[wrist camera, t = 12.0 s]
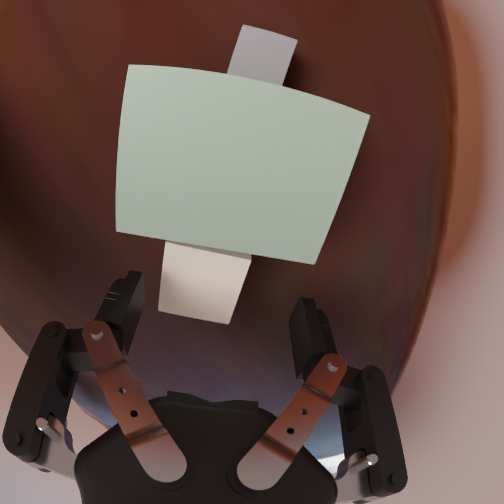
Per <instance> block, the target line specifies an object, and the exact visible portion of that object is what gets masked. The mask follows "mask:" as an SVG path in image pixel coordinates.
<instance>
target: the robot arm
mask: <svg viewBox="0 0 504 504" xmlns="http://www.w3.org/2000/svg"><path fill="white" fill-rule="evenodd" d="M144 304H145V274H144V273H143V272H137V271H132V270H130V271H129V273H128V275H127V277H126V279H121V278H119V279H118V280H116V281H115V282H114V283H113V284H112V285H111V287H110V289H109V291H108V293H107V295H106V298H105V299H104V301H103V303H102V305H101V307H100V309H99V311H98V313H97V316H96V318H95V320H94V321H91V322H89V323H88V324H86V325H85V326H84V328H82V329H66V328H65V326H64V325H63V324H62V323H61V322H58V321H52V322H49V323H47V324H45V325H44V326H43V327H42V329H41V331H40V333H39V335H38V338H37V340H36V342H35V344H34V346H33V349H32V351H31V353H30V356H29V358H28V360H27V363H26V365H25V368H24V370H23V373H22V375H21V378H20V381H19V383H18V386H17V389H16V392H15V395H14V397H13V400H12V403H11V406H10V410H9V413H8V416H7V420H6V424H5V427H4V431H3V436H2V438H3V443H4V445H5V447H6V449H7V450H8V451H9V452H10V453H12V454H13V455H15V456H16V457H18V458H19V459H20V460H21V461H23V462H25V463H26V464H28V465H30V466H32V467H34V468H37V469H39V470H40V471H43V472H51V471H52V472H54V473H57V474H60V475H62V476H65V477H68V478H71V479H74V480H76V482H77V484H78V487H79V490H80V494H81V499H82V504H340V503H347V502H353V503H356V504H364V503H367V502H371V501H374V500H377V499H380V498H383V497H386V496H389V495H392V494H395V493H397V492H400V491H401V490H402V489H404V487H405V486H406V484H407V480H408V476H407V470H406V465H405V459H404V454H403V449H402V444H401V439H400V435H399V430H398V426H397V421H396V417H395V413H394V409H393V405H392V401H391V397H390V393H389V389H388V386H387V382H386V378H385V375H384V373H383V372H382V371H381V370H380V369H379V368H378V367H375V366H366V367H365V368H364V369H363V370H359V369H356V368H353V367H350V366H347V364H346V362H345V360H344V359H343V358H342V357H341V356H339V355H337V351H336V347H335V344H334V340H333V336H332V333H331V329H330V326H329V322H328V318H327V316H326V315H325V313H324V312H323V311H322V309H317V308H316V304H315V300H314V299H310V298H302V297H300V298H299V299H298V301H297V303H296V306H295V308H294V310H293V313H292V315H291V317H290V322H289V330H290V337H291V344H292V351H293V358H294V365H295V372H296V379H304V384H303V385H302V386H301V388H300V389H299V390H298V392H297V393H296V394H295V396H294V397H293V398H292V400H291V401H290V402H289V404H288V405H287V406H286V408H285V409H284V410H283V411H282V413H281V414H280V415H279V416H278V418H277V417H276V416H275V415H273V414H272V413H270V412H268V411H266V410H264V409H262V408H259V407H258V401H244V400H232V401H224V402H209V401H207V400H204V399H201V398H198V397H196V396H193V395H191V394H185V393H179V392H173V391H168V393H167V396H163V397H157V398H154V399H151V400H149V401H148V400H147V398H146V397H145V395H144V393H143V391H142V389H141V388H140V386H139V384H138V382H137V380H136V378H135V376H134V374H133V372H132V370H131V368H130V366H129V364H128V363H127V361H126V360H124V358H123V356H122V354H123V355H128V352H129V349H130V345H131V342H132V339H133V336H134V333H135V330H136V327H137V324H138V321H139V318H140V316H141V313H142V310H143V307H144ZM79 371H95V372H96V375H97V378H98V380H99V382H100V385H101V387H102V390H103V392H104V394H105V396H106V399H107V401H108V403H109V405H110V407H111V409H112V412H113V414H114V416H115V418H116V420H117V422H118V423H117V424H116V425H114V426H113V427H112V428H110V429H109V430H108V431H106V432H105V433H104V434H102V435H101V436H100V437H98V438H97V439H96V440H94V441H93V442H91V443H90V444H89V445H87V446H86V447H84V448H83V449H82V450H81V451H80V452H79V453H78V455H76V454H75V452H74V450H73V445H72V443H73V440H72V435H71V433H70V432H69V431H68V429H67V428H66V427H65V421H66V417H67V413H68V409H69V405H70V401H71V398H72V394H73V390H74V387H75V383H76V380H77V377H78V373H79ZM330 402H331V403H334V404H338V408H339V415H340V422H341V430H342V438H343V446H344V455H345V459H344V460H343V461H341V462H340V464H339V466H338V470H337V476H336V478H335V479H334V477H333V476H332V474H331V473H330V472H329V471H328V470H327V469H326V468H325V467H324V466H323V465H322V464H321V463H320V462H319V461H318V460H317V459H316V458H315V457H314V456H313V455H312V454H311V453H310V452H309V451H308V450H307V449H306V448H305V447H304V446H303V444H304V443H305V441H306V440H307V439H308V437H309V436H310V434H311V433H312V431H313V430H314V428H315V427H316V425H317V423H318V422H319V420H320V419H321V417H322V416H323V414H324V412H325V411H326V409H327V407H328V406H329V404H330Z"/></svg>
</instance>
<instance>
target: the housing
mask: <svg viewBox="0 0 504 504" xmlns="http://www.w3.org/2000/svg"><path fill="white" fill-rule="evenodd" d="M369 118H370V115H368V114H365V113H363V112H360V111H358V110H355V109H353V108H350V107H347V106H344V105H342V104H339V103H336V102H333V101H330V100H327V99H324V98H321V97H318V96H315V95H312V94H308V93H305V92H302V91H298V90H295V89H291V88H287V87H284V86H280V85H276V84H272V83H268V82H263V81H259V80H254V79H250V78H245V77H240V76H234V75H229V74H223V73H217V72H210V71H203V70H195V69H187V68H177V67H166V66H150V65H129V67H128V72H127V78H126V84H125V90H124V97H123V104H122V112H121V121H120V130H119V141H118V155H117V173H116V231H117V232H123V233H129V234H134V235H140V236H146V237H152V238H158V239H164V240H170V241H176V242H182V243H188V244H194V245H200V246H206V247H212V248H218V249H224V250H230V251H236V252H242V253H248V254H254V255H260V256H266V257H272V258H278V259H284V260H290V261H296V262H302V263H308V264H315V262H316V260H317V257H318V255H319V253H320V250H321V248H322V245H323V243H324V241H325V238H326V236H327V233H328V231H329V228H330V226H331V223H332V221H333V218H334V216H335V213H336V211H337V208H338V205H339V203H340V200H341V198H342V195H343V192H344V190H345V187H346V184H347V182H348V179H349V176H350V173H351V171H352V168H353V165H354V162H355V159H356V157H357V154H358V151H359V148H360V145H361V142H362V139H363V136H364V133H365V130H366V127H367V124H368V121H369Z"/></svg>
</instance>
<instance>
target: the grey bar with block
mask: <svg viewBox="0 0 504 504" xmlns="http://www.w3.org/2000/svg"><path fill="white" fill-rule="evenodd" d="M296 43H297V40H296V39H293V38H290V37H287V36H283V35H280V34H277V33H274V32H270V31H267V30H263V29H259V28H255V27H251V26H247V25H243V26H242V29H241V32H240V35H239V38H238V41H237V44H236V47H235V50H234V53H233V56H232V59H231V62H230V65H229V68H228V72H227V74H229V75H234V76H240V77H245V78H250V79H254V80H259V81H263V82H268V83H272V84H276V85H280V86H282V84H283V81H284V78H285V75H286V72H287V69H288V66H289V64H290V61H291V58H292V55H293V52H294V49H295V46H296ZM250 263H251V254H248V253H242V252H236V251H230V250H224V249H218V248H212V247H206V246H200V245H194V244H188V243H182V242H176V241H170V240H166V243H165V250H164V258H163V266H162V275H161V284H160V294H159V305H158V311H162V312H167V313H172V314H176V315H181V316H186V317H191V318H196V319H201V320H207V321H212V322H218V323H223V324H229V322H230V319H231V317H232V314H233V311H234V308H235V305H236V302H237V300H238V297H239V294H240V291H241V288H242V286H243V283H244V280H245V277H246V274H247V271H248V269H249V266H250Z"/></svg>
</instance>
